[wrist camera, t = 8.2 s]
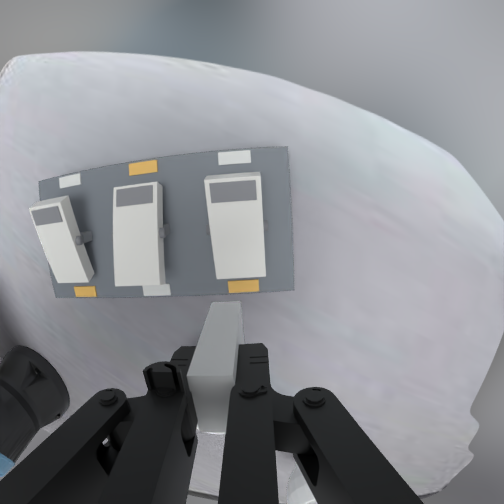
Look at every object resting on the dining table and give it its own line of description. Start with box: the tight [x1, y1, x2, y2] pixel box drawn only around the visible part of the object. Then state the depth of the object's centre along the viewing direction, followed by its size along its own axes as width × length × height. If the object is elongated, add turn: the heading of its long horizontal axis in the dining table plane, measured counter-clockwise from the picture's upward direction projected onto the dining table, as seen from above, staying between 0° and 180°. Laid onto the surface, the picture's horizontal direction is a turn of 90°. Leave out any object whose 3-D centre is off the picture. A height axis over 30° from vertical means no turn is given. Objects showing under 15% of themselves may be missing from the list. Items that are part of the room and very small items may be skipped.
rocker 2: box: [111, 182, 166, 286], centre depth 26 cm, size 5×9×2 cm, turn 4°
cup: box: [286, 463, 318, 504], centre depth 35 cm, size 11×11×15 cm
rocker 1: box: [29, 196, 95, 283], centre depth 26 cm, size 5×9×2 cm, turn 4°
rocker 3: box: [204, 172, 268, 279], centre depth 26 cm, size 5×9×2 cm, turn 4°
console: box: [39, 146, 294, 298], centre depth 31 cm, size 28×14×8 cm, turn 94°
